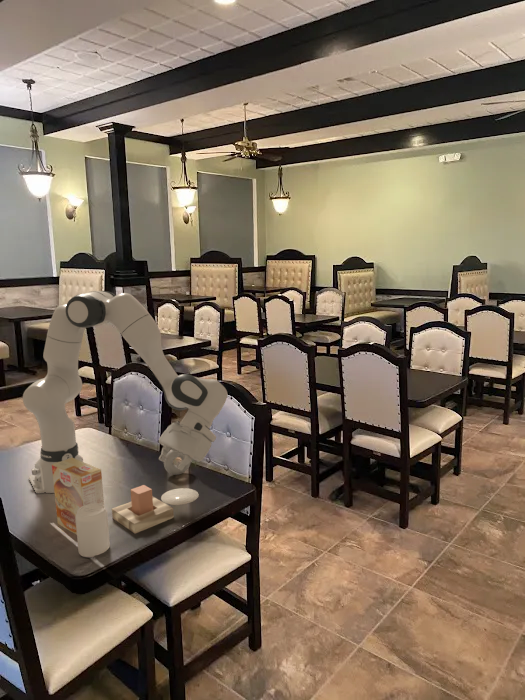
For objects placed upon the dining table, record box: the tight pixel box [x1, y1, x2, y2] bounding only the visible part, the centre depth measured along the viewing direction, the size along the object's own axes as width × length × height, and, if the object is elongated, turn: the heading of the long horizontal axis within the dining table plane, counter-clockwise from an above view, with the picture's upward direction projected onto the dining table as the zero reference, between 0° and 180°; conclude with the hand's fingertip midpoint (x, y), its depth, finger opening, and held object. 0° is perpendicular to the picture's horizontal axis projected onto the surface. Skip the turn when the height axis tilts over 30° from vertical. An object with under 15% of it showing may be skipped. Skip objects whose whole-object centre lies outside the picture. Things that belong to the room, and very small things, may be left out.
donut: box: [163, 450, 192, 476], centre depth 192 cm, size 10×4×10 cm, turn 117°
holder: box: [111, 495, 175, 534], centre depth 159 cm, size 13×13×4 cm
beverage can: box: [75, 503, 111, 558], centre depth 143 cm, size 8×8×12 cm
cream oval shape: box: [160, 487, 200, 506], centre depth 173 cm, size 12×12×1 cm
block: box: [130, 484, 153, 516], centre depth 159 cm, size 4×4×9 cm
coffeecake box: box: [52, 458, 105, 536], centre depth 154 cm, size 15×7×20 cm, turn 51°
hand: (169, 464), depth 164 cm, fingers open, 8 cm apart
